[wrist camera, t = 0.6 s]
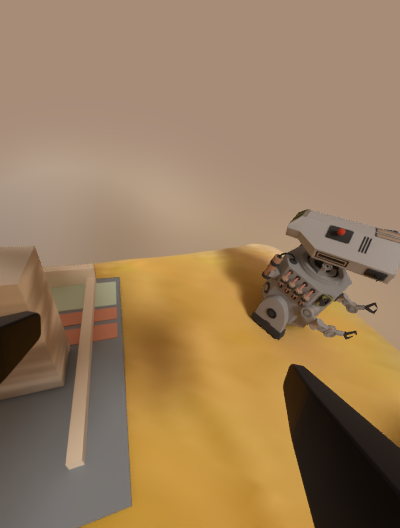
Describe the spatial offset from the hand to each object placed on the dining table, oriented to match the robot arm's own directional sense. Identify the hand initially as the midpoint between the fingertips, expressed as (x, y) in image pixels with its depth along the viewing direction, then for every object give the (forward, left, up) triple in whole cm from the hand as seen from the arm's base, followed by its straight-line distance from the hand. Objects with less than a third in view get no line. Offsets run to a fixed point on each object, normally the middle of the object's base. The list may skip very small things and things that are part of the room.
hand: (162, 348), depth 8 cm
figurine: (+20, -8, -15) cm, 27 cm away
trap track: (0, +14, -15) cm, 20 cm away
